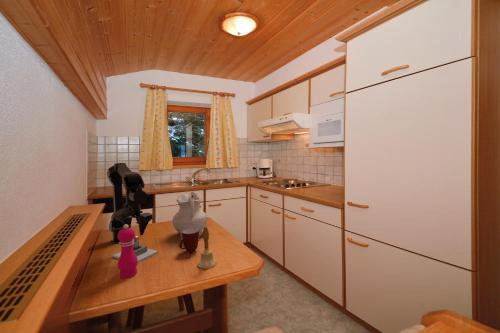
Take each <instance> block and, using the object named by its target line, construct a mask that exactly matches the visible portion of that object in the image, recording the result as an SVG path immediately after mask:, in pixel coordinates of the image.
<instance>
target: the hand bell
mask: <svg viewBox="0 0 500 333" xmlns="http://www.w3.org/2000/svg"><path fill="white" fill-rule="evenodd" d="M202 239H203V242H204V243H203V244H204V245H203V246H204V249H203V250H201V253H200V259H199V260H198V262H197V264H196V265H197V266H196V267H198V268H199V269H206V270H207V269H210V268H211V269H212V268H214V267H215V266H217V265H218V262H217V260H216V259H215V258H214V255H213V250H211V249H209V239H210V232H209V229H208V227H207V226H205V227H204V229H202Z"/></svg>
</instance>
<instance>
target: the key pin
mask: <svg viewBox="0 0 500 333" xmlns="http://www.w3.org/2000/svg"><path fill="white" fill-rule="evenodd" d="M133 239H134V244H133V250H137V249H139V245H140V242H139V241H140V235H139V234H135V236H134V238H133Z"/></svg>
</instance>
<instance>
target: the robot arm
mask: <svg viewBox="0 0 500 333" xmlns="http://www.w3.org/2000/svg"><path fill="white" fill-rule="evenodd" d="M106 176H107V178H108V181H109V183H110V184H111V185H112V199H113V200H112V201H113V213H112V214H111V216H110V221H109V225H108V231H110V232H111V233H112V239H111V240H110V242H112V243H114V244H120V243H119V242H120V240H119V239H118V233H119V231H120V230H122V229H124V228H123V226H124V225H125V224H127V225H128V226H129V227H128V228H131V229H132V221H133V219H135V221H136V222H135V223H136V225H137V226H138V229H139V237H140V236H143V235H144V233H145V231H146V230H147V228H148V225H149V223H150V222H151V221H152V220H153V218H154V215H153V213H151V212H150V213H149V212H144V213H143V210H141V205H143V204H144V203H146V201H147V200H148V194H147V193H146V192H145V191H144V190H143V189H145V188H146V187H145V181H144V179H143V177H142V175H141V174H140V173H139V172H136V171H132V170H131V169H130V168H129V167H128V166H127V164H126V162H116V163H114V164H113V165H112V166H110V167H108V169H107V171H106ZM123 188H124V190H125V203H124V196H123V195H124V194H123Z"/></svg>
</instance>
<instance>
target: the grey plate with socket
mask: <svg viewBox="0 0 500 333" xmlns="http://www.w3.org/2000/svg"><path fill="white" fill-rule="evenodd" d="M134 253H135V255H136V256H137V259H138V264H139V263H141V262H143V261H145V260H148V259H149V258H151V257H153V256H155V255H157V254H159V251H158V250H155V249H151V248H148V246H147V245H142V244H139V249H137V250H134ZM120 255H121V251H119V252H117V253H114V254H112V258H114V259H117V260H119V258H120Z"/></svg>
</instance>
